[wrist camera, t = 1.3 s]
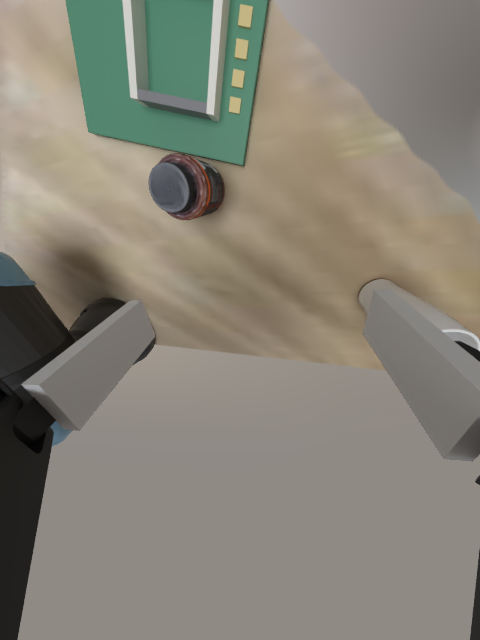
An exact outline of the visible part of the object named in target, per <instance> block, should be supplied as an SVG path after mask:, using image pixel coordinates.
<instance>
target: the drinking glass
mask: <svg viewBox="0 0 480 640" xmlns="http://www.w3.org/2000/svg"><path fill="white" fill-rule="evenodd" d="M383 289H391V290H392V291H393V292H394V293H396V294H397V295H398V296H399V297H400V298H402V299H403V300H404V301H405V302H407V303H408V304H409V305H410V306H411V307H413V308H414V309H415V310H416V311H418V312H419V313H420V314H421V315H423V316H424V317H425V318H426V319H427V320H429V321H430V322H431V323H432V324H434V325H435V326H436V327H437V328H438V329H440V330H441V331H442V332H443V333H445V334H446V335H447V336H448V337H450V338H451V339H452V340H453V341H461V342H463V343H465V344H467V345H469V346H471V347H473V348H475V349H477V350H479V351H480V340H479V338H478V337H477V336H476V335H475V334H473V333H472V332H471V331H470V330H468V329H467V328H466V327H465V326H463V325H462V324H461V323H459V322H458V321H457V320H455V319H454V318H453V317H451V316H450V315H448V314H447V313H445V312H443V311H442V310H440V309H438V308H437V307H435V306H433V305H431V304H429V303H428V302H426V301H424V300H422V299H420V298H418V297H417V296H415V295H413V294H411V293H409V292H408V291H406V290H404V289H402V288H401V287H399V286H397V285H396V284H395V283H393V282H392V281H390V280H387V279H377V280H373V281H371V282H369V283H367V284H366V285H365V286H364V287H363V288H362V289H361V291H360V293H359V303H360V305H361V306H362V307H363V309H364V310H365V312H366V314H368V310H369V306H370V303H371V299H372V295H373V291H374V290H383Z"/></svg>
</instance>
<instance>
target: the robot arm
mask: <svg viewBox="0 0 480 640" xmlns="http://www.w3.org/2000/svg"><path fill="white" fill-rule="evenodd" d="M35 285H36V283H35V282H34V281H32V280H30V278H29V277H28V276H27V275H26V274H25V272H24V271H23V270H22V269H21V268H20V266H19V265H18V264H17V263H16V262H15V260H14V259H12V258H11V257H10V256H8V255H7V254H5V253H2V252H0V640H17V638H18V633H19V627H20V622H21V616H22V610H23V605H24V599H25V593H26V588H27V582H28V576H29V571H30V565H31V560H32V554H33V548H34V542H35V536H36V532H37V526H38V520H39V515H40V509H41V504H42V498H43V492H44V487H45V480H46V476H47V470H48V464H49V459H50V453H51V447H52V446H54V445H57V444H59V443H60V442H62V441H63V440H64V439H65V438H66V437H67V436H68V435H69V434H70V433H71V432H72V431H73V430H81V428H82V427H83V426H84V424H85V423H86V422H87V421H88V420H89V418H90V417H91V416H92V415H93V413H94V412H95V411H96V410H97V408H98V407H99V406H100V405H101V403H102V402H103V401H104V400H105V398H106V397H107V396H108V395H109V393H110V392H111V391H112V390H113V388H114V387H115V386H116V385H117V384H118V382H119V381H120V380H121V378H122V377H123V376H124V375H125V374H126V372H127V371H128V370H129V368H130V367H131V366H132V365H134V364H135V363H137V362H138V361H140V360H142V359H144V358H145V357H146V356H147V355H148V354H149V352H150V351H151V350H152V348H153V347H154V344H155V336H156V335H155V333H154V330H153V328H152V325H151V323H150V320H149V317H148V315H147V312H146V310H145V307H144V305H143V302H142V300H130V301H129V302H128V303H125V302H123V301H120V300H116V299H100V300H97V301H95V302H94V303H92V304H90V305H89V306H87V307H86V308H85V309H84V310H83V311H82V312H81V314H80V316H79V317H78V319H77V320H76V321H75V322H74V324H73V325H72V327H71V328H70V329H69V331H68V330H67V328H66V327H65V326H64V324H63V323H62V322H61V320H60V319H59V318H58V317H57V315H56V314H55V313H54V311H53V310H52V309H51V307H50V306H49V304H48V303H47V302H46V300H45V299H44V298H43V296H42V295H41V293H40V292H39V291H38V289H37V288H36V287H35ZM363 335H364V337H365V338H366V340H367V341H368V343H369V344H370V346H371V347H372V349H373V351H374V352H375V354H376V355H377V357H378V358H379V360H380V361H381V363H382V364H383V366H384V368H385V369H386V371H387V372H388V374H389V375H390V377H391V378H392V380H393V381H394V383H395V385H396V386H397V388H398V389H399V391H400V392H401V394H402V395H403V397H404V399H405V400H406V402H407V403H408V405H409V406H410V408H411V409H412V411H413V412H414V414H415V416H416V417H417V419H418V420H419V422H420V423H421V425H422V426H423V428H424V429H425V431H426V433H427V434H428V435H429V437H430V439H431V440H432V442H433V443H434V445H435V446H436V448H437V450H438V451H439V453H440V454H441V456H442V457H443V459H451V460H462V461H473V460H474V459H475V458H476V457H477V456H478V455H479V454H480V351H479V350H477V349H475V348H473V347H471V346H469V345H467V344H465V343H463V342H461V341H453V340H452V339H451V338H450V337H448V336H447V335H446V334H445V333H443V332H442V331H441V330H440V329H438V328H437V327H436V326H435V325H434V324H432V323H431V322H430V321H429V320H427V319H426V318H425V317H424V316H423V315H421V314H420V313H419V312H418V311H416V310H415V309H414V308H413V307H411V306H410V305H409V304H408V303H407V302H405V301H404V300H403V299H402V298H400V297H399V296H398V295H397V294H396V293H394V292H393V291H392V290H391V289H383V290H374V291H373V295H372V299H371V303H370V306H369V310H368V314H367V318H366V322H365V326H364V330H363ZM475 482H476V483H477V484H479V485H480V476H479V477H478V478H477V479H476V481H475ZM470 640H480V551H479V560H478V570H477V579H476V589H475V598H474V607H473V618H472V626H471V636H470Z"/></svg>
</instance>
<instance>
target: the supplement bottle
mask: <svg viewBox="0 0 480 640" xmlns="http://www.w3.org/2000/svg"><path fill="white" fill-rule="evenodd" d="M149 190H150V193H151V196H152V198H153V200H154V201H155V203H156V204H157V205H158V206H159V207H160V208H161V209H163V210H165V211H166V212H167V213H168V214H169V215H171V216H173V217H175V218H177V219H180V220H191V219H195V218H198V217H200V216H204V215H206V214H210V213H212V212H214V211H215V210H216V209H217V208H218V207H219V206H220V205H221V203H222V201H223V197H224V184H223V180H222V178H221V176H220V174H219V173H218V171H217V170H216V169H215V168H214V167H212V166H211V165H209V164H208V163H205V162H203V161H200V160H197V159H195V158H192V157H190V156H187V155H184V154H179V153H174V154H170V155H167V156H165V157H164V158H163V159H162V160H161V161H160V162H159V163H158V164H157V165H156V166H155V167H154V168H153V169H152V171H151V173H150V176H149Z"/></svg>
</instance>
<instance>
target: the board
mask: <svg viewBox="0 0 480 640" xmlns="http://www.w3.org/2000/svg"><path fill="white" fill-rule="evenodd" d="M66 5H67V11H68V17H69V23H70V29H71V34H72V40H73V46H74V52H75V58H76V63H77V69H78V75H79V81H80V86H81V92H82V98H83V104H84V110H85V115H86V121H87V127H88V132H90V133H93V134H96V135H101V136H106V137H110V138H115V139H120V140H124V141H129V142H134V143H138V144H143V145H148V146H152V147H157V148H162V149H166V150H171V151H176V152H180V153H185V154H190V155H194V156H199V157H204V158H209V159H213V160H218V161H223V162H227V163H232V164H237V165H241V166H244V163H245V156H246V150H247V143H248V137H249V130H250V123H251V117H252V110H253V104H254V97H255V91H256V84H257V78H258V71H259V64H260V58H261V51H262V45H263V38H264V32H265V25H266V18H267V12H268V5H269V0H66Z"/></svg>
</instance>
